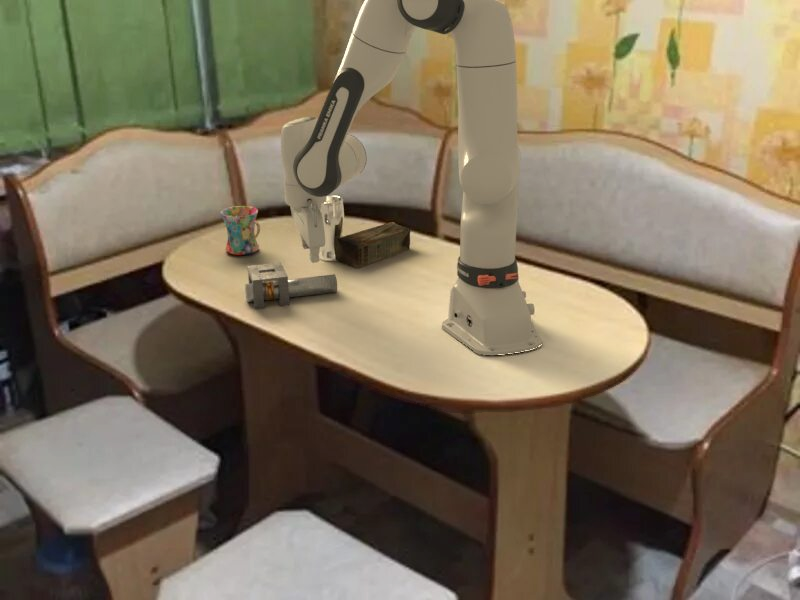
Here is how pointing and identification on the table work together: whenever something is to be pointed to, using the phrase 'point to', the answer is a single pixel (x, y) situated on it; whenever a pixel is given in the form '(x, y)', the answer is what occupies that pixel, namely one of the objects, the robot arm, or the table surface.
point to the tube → (296, 287)
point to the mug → (241, 229)
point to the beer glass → (332, 226)
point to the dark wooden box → (373, 244)
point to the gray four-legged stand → (275, 275)
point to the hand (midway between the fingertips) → (310, 254)
